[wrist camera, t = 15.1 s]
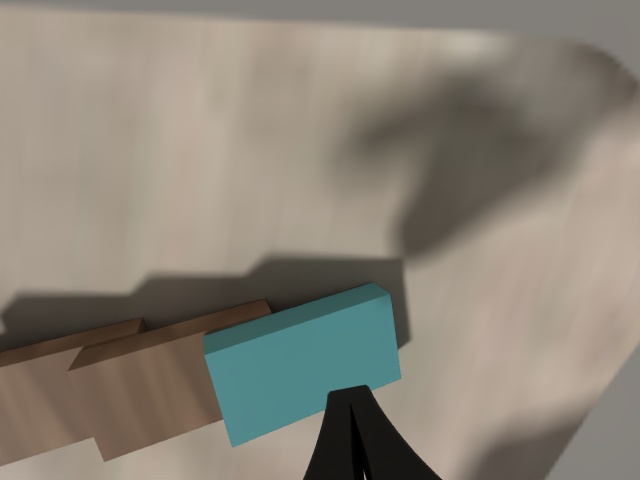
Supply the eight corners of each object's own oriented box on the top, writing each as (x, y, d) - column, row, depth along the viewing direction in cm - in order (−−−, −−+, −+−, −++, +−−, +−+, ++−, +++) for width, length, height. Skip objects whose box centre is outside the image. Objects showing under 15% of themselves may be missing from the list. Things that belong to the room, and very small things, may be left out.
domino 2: (271, 312, 16) (66, 371, 14) (289, 395, 17) (104, 461, 15) (265, 298, 17) (80, 350, 15) (282, 376, 18) (112, 434, 16)
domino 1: (136, 332, 16) (-88, 389, 14) (162, 415, 17) (-40, 478, 15) (142, 317, 17) (-59, 367, 15) (166, 394, 18) (-18, 449, 16)
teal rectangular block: (384, 360, 18) (228, 421, 16) (373, 282, 17) (203, 336, 15) (401, 378, 17) (232, 447, 15) (390, 293, 16) (204, 355, 13)
